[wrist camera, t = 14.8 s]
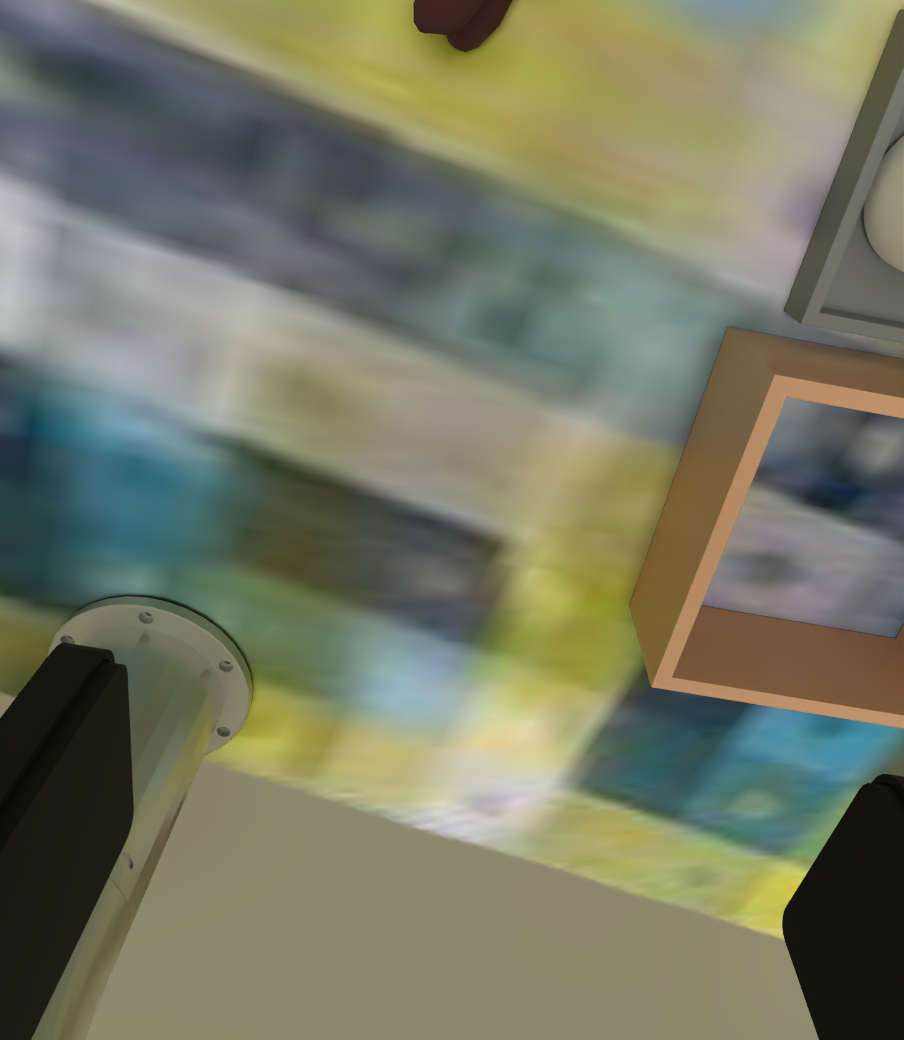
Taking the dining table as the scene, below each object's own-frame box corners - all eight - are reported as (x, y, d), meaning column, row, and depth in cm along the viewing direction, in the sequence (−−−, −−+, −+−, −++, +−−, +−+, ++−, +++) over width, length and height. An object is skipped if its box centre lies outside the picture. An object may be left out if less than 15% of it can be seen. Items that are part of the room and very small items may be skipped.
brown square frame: (902, 651, 46) (965, 738, 40) (629, 605, 45) (651, 686, 39) (1057, 388, 38) (1166, 447, 32) (727, 326, 37) (774, 374, 31)
